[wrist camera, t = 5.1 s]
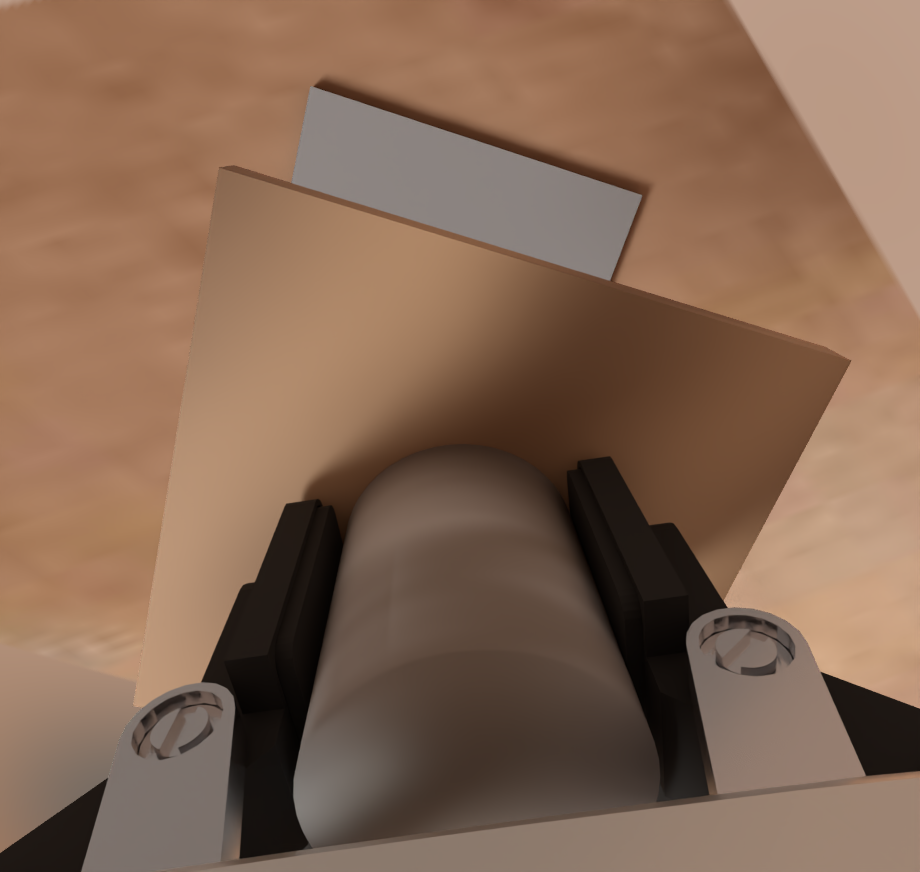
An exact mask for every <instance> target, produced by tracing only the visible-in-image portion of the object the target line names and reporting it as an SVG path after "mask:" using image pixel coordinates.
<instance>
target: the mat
mask: <svg viewBox="0 0 920 872" xmlns="http://www.w3.org/2000/svg"><path fill="white" fill-rule="evenodd" d="M291 183H293V184H296V185H299V186H303V187H306V188H309V189H312V190H316V191H319V192H322V193H325V194H329V195H332V196H335V197H338V198H342V199H345V200H348V201H351V202H355V203H358V204H361V205H364V206H368V207H371V208H374V209H377V210H381V211H384V212H387V213H391V214H394V215H397V216H400V217H404V218H407V219H410V220H413V221H417V222H420V223H423V224H426V225H430V226H433V227H436V228H439V229H443V230H446V231H449V232H452V233H456V234H459V235H462V236H465V237H469V238H472V239H475V240H478V241H482V242H485V243H488V244H491V245H495V246H498V247H501V248H505V249H508V250H511V251H514V252H518V253H521V254H524V255H527V256H531V257H534V258H537V259H540V260H544V261H547V262H550V263H553V264H557V265H560V266H563V267H566V268H570V269H573V270H576V271H579V272H583V273H586V274H589V275H592V276H596V277H599V278H602V279H605V280H609V281H610V279H611V277H612V274H613V272H614V269H615V266H616V264H617V261H618V258H619V256H620V253H621V251H622V248H623V245H624V243H625V240H626V237H627V235H628V232H629V230H630V227H631V224H632V222H633V219H634V216H635V214H636V211H637V209H638V206H639V203H640V201H641V198H642V195H640V194H637V193H634V192H631V191H628V190H625V189H622V188H619V187H616V186H613V185H610V184H607V183H604V182H601V181H598V180H594V179H591V178H588V177H585V176H582V175H579V174H576V173H573V172H570V171H567V170H564V169H561V168H558V167H555V166H552V165H549V164H546V163H543V162H540V161H537V160H534V159H531V158H528V157H525V156H522V155H519V154H515V153H512V152H509V151H506V150H503V149H500V148H497V147H494V146H491V145H488V144H485V143H482V142H479V141H476V140H473V139H470V138H467V137H464V136H461V135H458V134H455V133H452V132H449V131H446V130H443V129H440V128H436V127H433V126H430V125H427V124H424V123H421V122H418V121H415V120H412V119H409V118H406V117H403V116H400V115H397V114H394V113H391V112H388V111H385V110H382V109H379V108H376V107H373V106H370V105H367V104H364V103H361V102H358V101H354V100H351V99H348V98H345V97H342V96H339V95H336V94H333V93H330V92H327V91H324V90H321V89H318V88H315V87H312V86H310V91H309V96H308V101H307V106H306V112H305V117H304V122H303V127H302V132H301V137H300V142H299V147H298V152H297V157H296V162H295V167H294V172H293V177H292V182H291Z"/></svg>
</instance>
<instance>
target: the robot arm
mask: <svg viewBox="0 0 920 872" xmlns="http://www.w3.org/2000/svg"><path fill="white" fill-rule="evenodd" d="M567 485H568V496H569V507H570V516H571V518H572V521H573V524H574V526H575V529H576V532H577V535H578V537H579V540H580V543H581V545H582V548H583V551H584V554H585V556H586V559H587V562H588V564H589V567H590V570H591V573H592V575H593V578H594V581H595V583H596V586H597V589H598V592H599V594H600V597H601V600H602V602H603V605H604V608H605V611H606V613H607V616H608V619H609V621H610V624H611V627H612V629H613V632H614V635H615V638H616V640H617V643H618V646H619V648H620V651H621V654H622V657H623V659H624V662H625V665H626V667H627V670H628V672H629V675H630V677H631V680H632V682H633V685H634V688H635V691H636V693H637V696H638V699H639V701H640V704H641V707H642V710H643V712H644V715H645V718H646V720H647V723H648V726H649V728H650V731H651V734H652V737H653V739H654V742H655V746H656V750H657V753H658V757H659V766H660V784H659V793H658V797H657V800H656V802H655V803H647V804H639V805H632V806H624V807H616V808H609V809H601V810H593V811H585V812H578V813H570V814H563V815H555V816H548V817H540V818H533V819H526V820H518V821H511V822H503V823H496V824H488V825H481V826H474V827H466V828H459V829H451V830H444V831H437V832H429V833H422V834H415V835H408V836H400V837H393V838H386V839H378V840H371V841H364V842H356V843H349V844H342V845H335V846H327V847H320V848H312V847H311V845H310V843H309V842H308V840H307V838H306V836H305V835H304V833H303V831H302V828H301V826H300V823H299V820H298V817H297V815H296V809H295V803H294V798H293V794H294V775H295V770H296V765H297V760H298V755H299V751H300V746H301V741H302V737H303V732H304V727H305V722H306V718H307V713H308V708H309V704H310V699H311V694H312V690H313V685H314V680H315V675H316V671H317V666H318V661H319V657H320V652H321V647H322V643H323V638H324V633H325V629H326V624H327V619H328V614H329V610H330V605H331V600H332V596H333V591H334V586H335V582H336V577H337V572H338V568H339V563H340V558H341V553H342V549H343V542H342V538H341V534H340V530H339V526H338V522H337V518H336V514H335V511H334V508H333V506H332V505H329V506H323V505H322V503H321V501H320V500H319V499H314V500H307V501H300V502H293V503H286V505H285V507H284V509H283V512H282V514H281V517H280V519H279V522H278V524H277V527H276V529H275V532H274V535H273V537H272V540H271V542H270V545H269V547H268V550H267V552H266V555H265V557H264V560H263V562H262V565H261V568H260V570H259V573H258V575H257V578H256V580H255V582H252V583H246V584H244V585H243V586H242V587H241V589H240V590H239V593H238V595H237V597H236V600H235V602H234V605H233V607H232V609H231V612H230V614H229V616H228V619H227V621H226V624H225V626H224V628H223V631H222V633H221V636H220V638H219V640H218V643H217V645H216V647H215V650H214V652H213V655H212V657H211V659H210V662H209V664H208V666H207V669H206V671H205V674H204V676H203V678H202V681H201V683H195V684H189V685H184V686H181V687H179V688H176V689H173V690H170V691H168V692H166V693H164V694H162V695H161V696H159V697H157V698H155V699H154V700H152V701H151V702H149V703H148V704H147V705H146V706H144V707H143V708H142V709H141V710H140V711H138V712H137V713H136V715H135V716H134V717H133V718H132V719H131V720H130V722H129V723H128V724H127V725H126V727H125V729H124V731H123V733H122V735H121V737H120V739H119V743H118V746H117V750H116V753H115V757H114V760H113V763H112V767H111V770H110V774H109V777H108V778H107V779H106V780H104V781H103V782H101V783H100V784H98V785H97V786H96V787H94V788H93V789H91V790H90V791H88V792H87V793H86V794H84V795H83V796H81V797H80V798H78V799H77V800H76V801H74V802H73V803H71V804H70V805H68V806H67V807H65V808H64V809H63V810H61V811H60V812H59V813H57V814H56V815H54V816H53V817H51V818H50V819H48V820H47V821H45V822H44V823H43V824H41V825H40V826H38V827H37V828H35V829H34V830H33V831H31V832H30V833H28V834H27V835H25V836H24V837H22V838H21V839H20V840H18V841H17V842H15V843H14V844H12V845H11V846H10V847H8V848H7V849H5V850H4V851H3V852H1V853H0V872H920V709H919V708H916V707H914V706H911V705H908V704H906V703H903V702H900V701H898V700H895V699H892V698H890V697H887V696H884V695H881V694H879V693H876V692H873V691H871V690H868V689H865V688H863V687H860V686H857V685H855V684H852V683H849V682H847V681H844V680H841V679H839V678H836V677H833V676H831V675H828V674H825V673H822V672H820V670H819V668H818V666H817V663H816V661H815V659H814V656H813V654H812V652H811V650H810V647H809V645H808V643H807V641H806V640H805V639H804V637H803V636H802V634H801V633H800V631H799V630H797V629H796V628H795V627H794V626H792V625H791V624H790V623H788V622H787V621H786V620H783V619H781V618H779V617H777V616H775V615H773V614H771V613H767V612H763V611H759V610H755V609H749V608H735V607H734V608H727V606H726V604H725V603H724V601H723V600H722V598H721V596H720V595H719V593H718V592H717V590H716V588H715V587H714V585H713V584H712V582H711V581H710V579H709V577H708V576H707V574H706V573H705V571H704V569H703V568H702V566H701V565H700V563H699V561H698V560H697V558H696V557H695V555H694V553H693V552H692V550H691V549H690V547H689V546H688V544H687V542H686V541H685V539H684V538H683V536H682V534H681V533H680V531H679V530H678V528H677V527H676V526H675V524H674V523H671V522H669V523H662V524H655V525H649V524H648V522H647V520H646V518H645V517H644V515H643V513H642V511H641V509H640V508H639V506H638V504H637V502H636V500H635V499H634V497H633V495H632V493H631V492H630V490H629V488H628V486H627V484H626V483H625V481H624V479H623V477H622V476H621V474H620V472H619V470H618V468H617V467H616V465H615V463H614V461H613V459H612V458H611V457H610V456H607V457H601V458H594V459H587V460H580V461H578V463H577V469H576V470H569V471H567Z"/></svg>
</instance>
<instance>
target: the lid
mask: <svg viewBox="0 0 920 872" xmlns="http://www.w3.org/2000/svg"><path fill="white" fill-rule="evenodd" d="M850 362H851V360H849V359H847V358H845V357H843V356H841V355H839V354H837V353H836V352H834V351H832V350H830V349H828V348H826V347H824V346H820V345H817V344H814V343H811V342H807V341H804V340H801V339H798V338H794V337H791V336H788V335H785V334H781V333H778V332H775V331H772V330H768V329H765V328H762V327H759V326H755V325H752V324H749V323H746V322H742V321H739V320H736V319H732V318H729V317H726V316H723V315H719V314H716V313H713V312H710V311H706V310H703V309H700V308H697V307H693V306H690V305H687V304H684V303H680V302H677V301H674V300H671V299H667V298H664V297H661V296H658V295H654V294H651V293H648V292H645V291H641V290H638V289H635V288H632V287H628V286H625V285H622V284H618V283H615V282H612V281H609V280H605V279H602V278H599V277H596V276H592V275H589V274H586V273H583V272H579V271H576V270H573V269H570V268H566V267H563V266H560V265H557V264H553V263H550V262H547V261H544V260H540V259H537V258H534V257H531V256H527V255H524V254H521V253H518V252H514V251H511V250H508V249H505V248H501V247H498V246H495V245H491V244H488V243H485V242H482V241H478V240H475V239H472V238H469V237H465V236H462V235H459V234H456V233H452V232H449V231H446V230H443V229H439V228H436V227H433V226H430V225H426V224H423V223H420V222H417V221H413V220H410V219H407V218H404V217H400V216H397V215H394V214H391V213H387V212H384V211H381V210H377V209H374V208H371V207H368V206H364V205H361V204H358V203H355V202H351V201H348V200H345V199H342V198H338V197H335V196H332V195H329V194H325V193H322V192H319V191H316V190H312V189H309V188H306V187H303V186H299V185H296V184H293V183H290V182H286V181H283V180H280V179H277V178H273V177H270V176H267V175H264V174H260V173H257V172H254V171H250V170H247V169H244V168H241V167H237V166H234V165H233V166H226V167H220V168H219V170H218V177H217V183H216V189H215V195H214V202H213V208H212V214H211V220H210V227H209V233H208V239H207V246H206V252H205V258H204V264H203V271H202V277H201V283H200V290H199V296H198V302H197V308H196V315H195V321H194V327H193V333H192V340H191V346H190V352H189V359H188V365H187V371H186V377H185V384H184V390H183V396H182V402H181V409H180V415H179V421H178V428H177V434H176V440H175V446H174V453H173V459H172V465H171V472H170V478H169V484H168V490H167V497H166V503H165V509H164V515H163V522H162V528H161V534H160V541H159V547H158V553H157V559H156V566H155V572H154V578H153V584H152V591H151V597H150V603H149V610H148V616H147V622H146V628H145V635H144V641H143V647H142V654H141V660H140V666H139V672H138V679H137V685H136V691H135V697H134V704H133V706H137V707H142V708H143V707H144V706H146V705H147V704H148V703H149V702H151V701H152V700H154V699H155V698H157V697H159V696H161V695H162V694H164V693H166V692H168V691H170V690H173V689H176V688H179V687H181V686H184V685H189V684H195V683H201V681H202V678H203V676H204V674H205V671H206V669H207V666H208V664H209V662H210V659H211V657H212V655H213V652H214V650H215V647H216V645H217V643H218V640H219V638H220V636H221V633H222V631H223V628H224V626H225V624H226V621H227V619H228V616H229V614H230V612H231V609H232V607H233V605H234V602H235V600H236V597H237V595H238V593H239V590H240V589H241V587H242V586H243V585H244V584H246V583H252V582H255V580H256V578H257V575H258V573H259V570H260V568H261V565H262V562H263V560H264V557H265V555H266V552H267V550H268V547H269V545H270V542H271V540H272V537H273V535H274V532H275V529H276V527H277V524H278V522H279V519H280V517H281V514H282V512H283V509H284V507H285V505H286V503H293V502H300V501H307V500H314V499H319V500H320V501H321V503H322V505H323V506H329V505H332V506H333V508H334V511H335V514H336V518H337V522H338V526H339V530H340V534H341V538H342V542H343V549H342V553H341V558H340V563H339V568H338V572H337V577H336V582H335V586H334V591H333V596H332V600H331V605H330V610H329V614H328V619H327V624H326V629H325V633H324V638H323V643H322V647H321V652H320V657H319V661H318V666H317V671H316V675H315V680H314V685H313V690H312V694H311V699H310V704H309V708H308V713H307V718H306V722H305V727H304V732H303V737H302V741H301V746H300V751H299V755H298V760H297V765H296V770H295V775H294V794H293V798H294V803H295V809H296V815H297V817H298V820H299V823H300V826H301V828H302V831H303V833H304V835H305V836H306V838H307V840H308V842H309V843H310V845H311V847H312V848H320V847H327V846H335V845H342V844H349V843H356V842H364V841H371V840H378V839H386V838H393V837H400V836H408V835H415V834H422V833H429V832H437V831H444V830H451V829H459V828H466V827H474V826H481V825H488V824H496V823H503V822H511V821H518V820H526V819H533V818H540V817H548V816H555V815H563V814H570V813H578V812H585V811H593V810H601V809H609V808H616V807H624V806H632V805H639V804H647V803H655V802H656V800H657V797H658V793H659V784H660V766H659V757H658V753H657V750H656V746H655V742H654V739H653V737H652V734H651V731H650V728H649V726H648V723H647V720H646V718H645V715H644V712H643V710H642V707H641V704H640V701H639V699H638V696H637V693H636V691H635V688H634V685H633V682H632V680H631V677H630V675H629V672H628V670H627V667H626V665H625V662H624V659H623V657H622V654H621V651H620V648H619V646H618V643H617V640H616V638H615V635H614V632H613V629H612V627H611V624H610V621H609V619H608V616H607V613H606V611H605V608H604V605H603V602H602V600H601V597H600V594H599V592H598V589H597V586H596V583H595V581H594V578H593V575H592V573H591V570H590V567H589V564H588V562H587V559H586V556H585V554H584V551H583V548H582V545H581V543H580V540H579V537H578V535H577V532H576V529H575V526H574V524H573V521H572V518H571V516H570V507H569V496H568V485H567V471H569V470H576V469H577V463H578V461H580V460H587V459H594V458H601V457H607V456H610V457H611V458H612V459H613V461H614V463H615V465H616V467H617V468H618V470H619V472H620V474H621V476H622V477H623V479H624V481H625V483H626V484H627V486H628V488H629V490H630V492H631V493H632V495H633V497H634V499H635V500H636V502H637V504H638V506H639V508H640V509H641V511H642V513H643V515H644V517H645V518H646V520H647V522H648V524H649V525H655V524H662V523H669V522H671V523H674V524H675V526H676V527H677V528H678V530H679V531H680V533H681V534H682V536H683V538H684V539H685V541H686V542H687V544H688V546H689V547H690V549H691V550H692V552H693V553H694V555H695V557H696V558H697V560H698V561H699V563H700V565H701V566H702V568H703V569H704V571H705V573H706V574H707V576H708V577H709V579H710V581H711V582H712V584H713V585H714V587H715V588H716V590H717V592H718V593H719V595H720V596H721V598H722V600H724V599H725V597H726V595H727V593H728V591H729V589H730V587H731V585H732V584H733V582H734V580H735V578H736V576H737V574H738V572H739V570H740V569H741V567H742V565H743V563H744V561H745V559H746V557H747V555H748V554H749V552H750V550H751V548H752V546H753V544H754V542H755V540H756V539H757V537H758V535H759V533H760V531H761V529H762V527H763V525H764V524H765V522H766V520H767V518H768V516H769V514H770V512H771V510H772V509H773V507H774V505H775V503H776V501H777V499H778V497H779V495H780V494H781V492H782V490H783V488H784V486H785V484H786V482H787V480H788V479H789V477H790V475H791V473H792V471H793V469H794V467H795V466H796V464H797V462H798V460H799V458H800V456H801V454H802V452H803V451H804V449H805V447H806V445H807V443H808V441H809V439H810V437H811V436H812V434H813V432H814V430H815V428H816V426H817V424H818V422H819V421H820V419H821V417H822V415H823V413H824V411H825V409H826V407H827V406H828V404H829V402H830V400H831V398H832V396H833V394H834V392H835V391H836V389H837V387H838V385H839V383H840V381H841V379H842V377H843V376H844V374H845V372H846V370H847V368H848V366H849V364H850Z"/></svg>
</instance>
